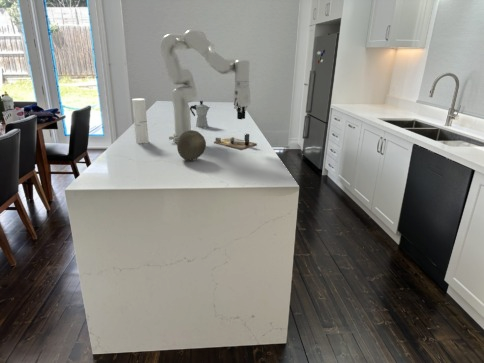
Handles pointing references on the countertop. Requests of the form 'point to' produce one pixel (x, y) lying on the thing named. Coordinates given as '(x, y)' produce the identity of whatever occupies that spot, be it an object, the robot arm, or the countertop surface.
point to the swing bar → (245, 142)
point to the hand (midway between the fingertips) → (241, 118)
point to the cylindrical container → (140, 120)
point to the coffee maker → (200, 114)
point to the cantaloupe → (191, 145)
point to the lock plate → (237, 146)
